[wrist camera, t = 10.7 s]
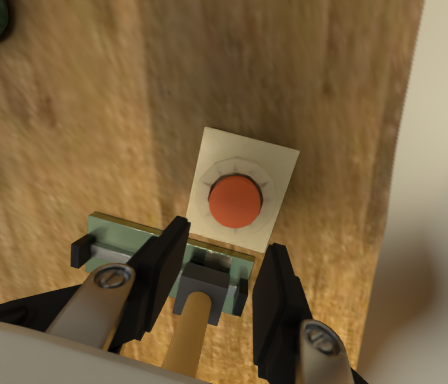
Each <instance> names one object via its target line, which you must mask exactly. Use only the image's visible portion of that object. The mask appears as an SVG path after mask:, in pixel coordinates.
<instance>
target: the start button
mask: <svg viewBox="0 0 448 384" xmlns="http://www.w3.org/2000/svg"><path fill="white" fill-rule="evenodd" d="M209 209H210V212H211V214H212V216H213V217H214V219H215V220H216V221H217V222H218V223H220V224H221V225H223V226H225V227H229V228H242V227H245V226H247V225H249V224H251V223H252V222H253V221H254V220H255V219H256V217H257V216H258V214H259V211H260V196H259V192H258V189H257V187H256V186H255V185H254V183H253V182H252V181H250V180H249V179H247V178H245V177H242V176H236V175H235V176H228V177H226V178H224V179H222V180H221V181H219V182H218V183H217V185H216V186H215V188H214V189H213V191H212V192H211V195H210V198H209Z"/></svg>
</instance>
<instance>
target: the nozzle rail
mask: <svg viewBox="0 0 448 384" xmlns="http://www.w3.org/2000/svg"><path fill="white" fill-rule="evenodd" d="M162 232H163V231H161V230H157V229H154V228H150V227H147V226H143V225H140V224H136V223H133V222H129V221H126V220H122V219H119V218H115V217H112V216H108V215H105V214H101V213H98V212H94V213H92V214H90V215H89V216H88V231H87V235H85V236H83V237H82V238H80V239H79V240H77V241H75V242H74V243H72V244H71V267H74V268H78V269H79V268H80V267H81V266H83V265H84V264H85V263H86V264H85V271H86V272H90V273H91V272H92V271H93V270H95V269H96V268H98V267H100V266H102V265H105V264H108V263H123V264H126V262H127V261H128V260H129V259H130V258H131V257H132V256H133V255H134V254H135V253H136V252H137V251H138V250H139V249H140V248H141V247H142V245H143V244H144V243H145V242H146V241H147V240H148V239H149V238H150V237H151V236H157V237H159V236H160V235H161V234H162ZM187 262H190V263H193V264H197V265H200V266H204V267H207V268H210V269H214V270H217V271H221V272H224V273H228V274H230V281H229V289H228V292H227V296H226V299H225V302H224V305H223V309H222V312H224V313H228V314H231V315H234V316H240V317H241V314H242V311H243V308H244V306H245V303H246V300H247V297H248V279H249V276H250V273H251V270H252V267H253V264H254V257H253V256H249V255H246V254H242V253H239V252H235V251H232V250H228V249H225V248H221V247H217V246H214V245H210V244H207V243H203V242H200V241H196V240H193V239H189V238H188V240H187V245H186V249H185V254H184V258H183V263H182V267H181V270H180V273H179V275H178V277H177V279H176V281H175V283H174V285H173V287H172V289H171V291H170V293H169V295H168V296H170V297H174V298H176V294H177V290H178V285H179V281H180V276H181V274H182V272H183V270H184V268H185V265H186V263H187Z"/></svg>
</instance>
